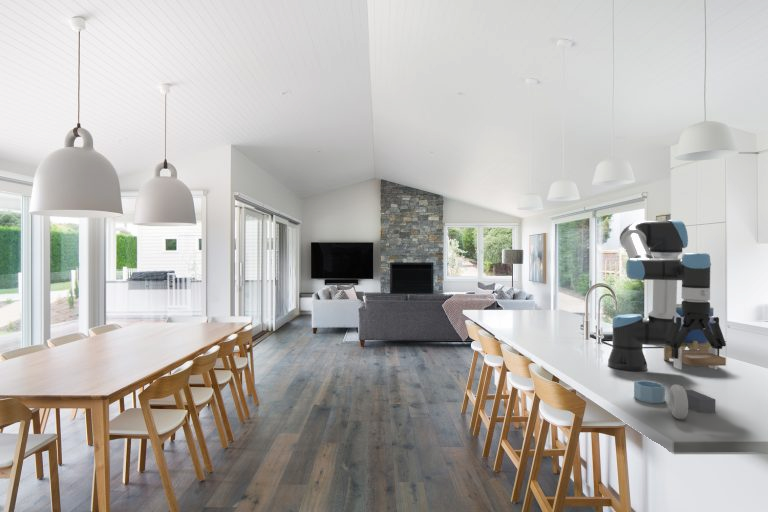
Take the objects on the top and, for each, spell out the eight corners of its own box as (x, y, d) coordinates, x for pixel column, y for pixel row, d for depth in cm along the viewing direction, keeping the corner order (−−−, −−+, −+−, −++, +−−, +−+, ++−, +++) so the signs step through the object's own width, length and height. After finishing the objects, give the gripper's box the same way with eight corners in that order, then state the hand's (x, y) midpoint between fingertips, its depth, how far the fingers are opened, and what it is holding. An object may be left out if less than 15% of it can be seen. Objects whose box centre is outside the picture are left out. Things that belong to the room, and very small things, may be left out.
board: (667, 357, 146) (667, 350, 146) (698, 356, 146) (699, 349, 146) (691, 365, 135) (691, 358, 135) (725, 365, 135) (725, 357, 135)
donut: (667, 412, 135) (667, 379, 135) (680, 413, 133) (680, 381, 133) (675, 423, 125) (675, 388, 125) (689, 425, 124) (690, 390, 124)
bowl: (629, 395, 151) (629, 380, 152) (653, 395, 152) (653, 380, 152) (645, 403, 143) (645, 387, 143) (669, 403, 143) (669, 387, 143)
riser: (677, 401, 145) (677, 389, 145) (691, 401, 145) (691, 389, 145) (699, 412, 135) (699, 399, 135) (715, 412, 135) (715, 399, 135)
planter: (721, 368, 191) (721, 308, 191) (671, 365, 197) (671, 307, 197) (703, 359, 209) (703, 304, 210) (657, 356, 215) (658, 303, 215)
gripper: (668, 302, 136) (667, 371, 136) (740, 301, 137) (740, 371, 137) (652, 299, 143) (652, 365, 144) (721, 299, 144) (721, 364, 144)
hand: (695, 368), depth 140 cm, fingers closed on board, 11 cm apart
